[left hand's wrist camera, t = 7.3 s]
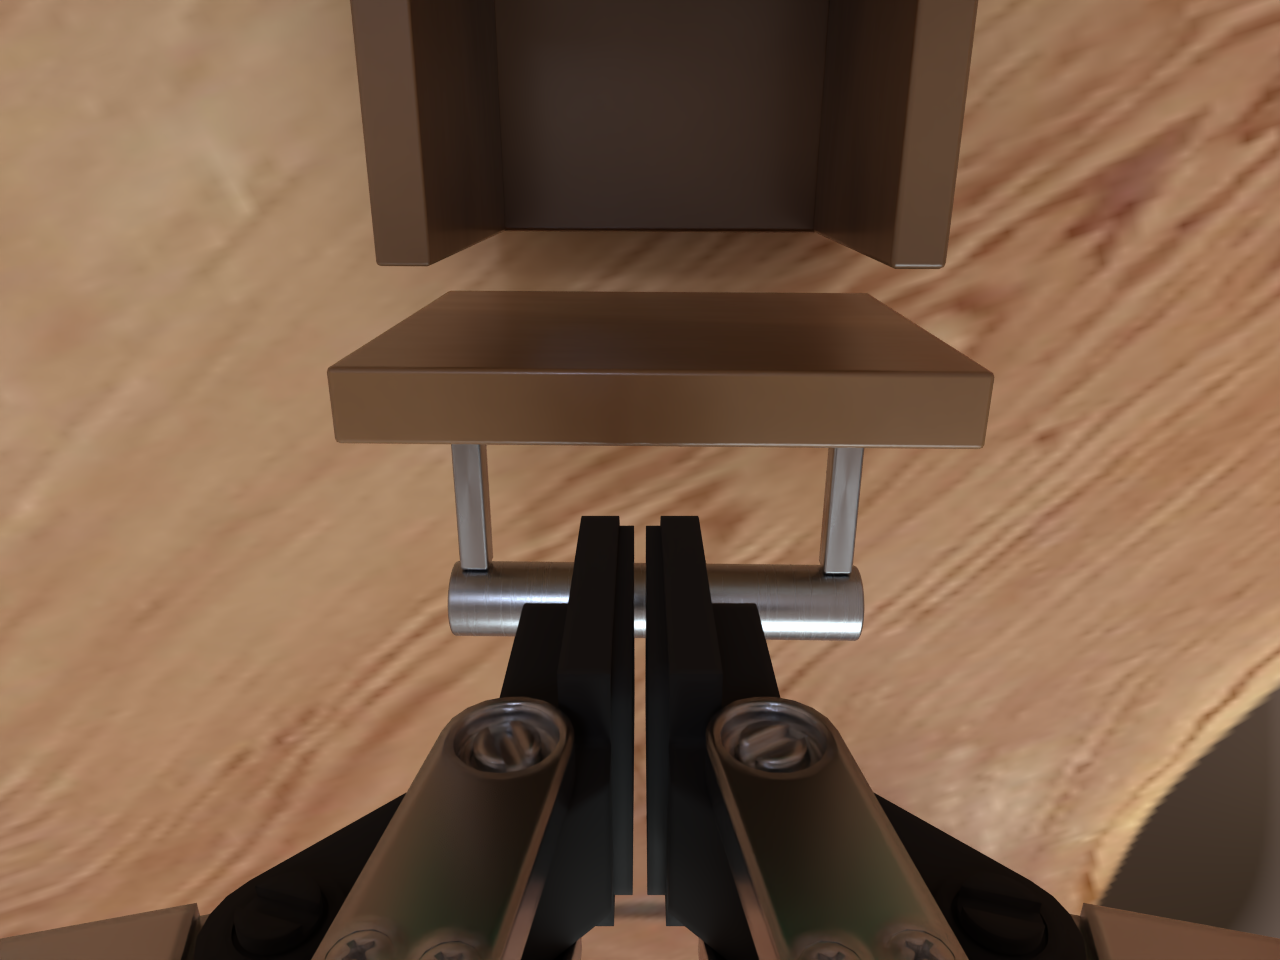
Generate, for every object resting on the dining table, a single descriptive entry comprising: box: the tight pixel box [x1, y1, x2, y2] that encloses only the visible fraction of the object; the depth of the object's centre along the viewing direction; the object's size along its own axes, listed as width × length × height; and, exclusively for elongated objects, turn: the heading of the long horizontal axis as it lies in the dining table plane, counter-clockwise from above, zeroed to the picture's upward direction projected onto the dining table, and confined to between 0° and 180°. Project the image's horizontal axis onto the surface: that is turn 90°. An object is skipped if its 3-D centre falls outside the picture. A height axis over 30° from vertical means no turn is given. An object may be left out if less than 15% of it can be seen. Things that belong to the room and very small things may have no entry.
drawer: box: [327, 0, 994, 641], centre depth 15 cm, size 20×10×8 cm, turn 0°
